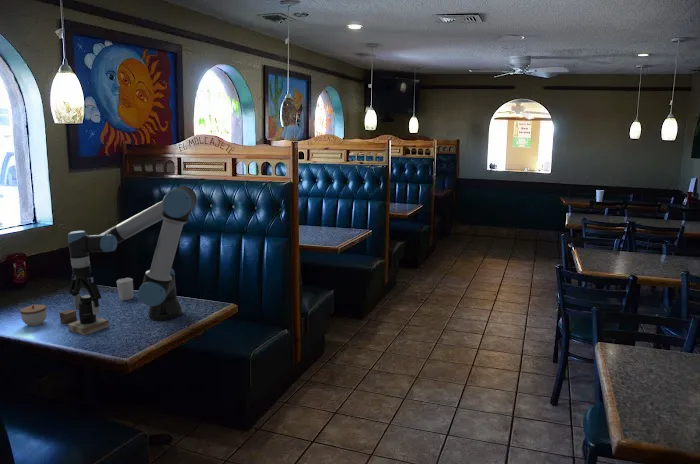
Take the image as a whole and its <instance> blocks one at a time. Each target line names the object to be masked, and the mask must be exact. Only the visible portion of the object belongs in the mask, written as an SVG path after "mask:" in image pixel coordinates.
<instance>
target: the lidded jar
mask: <svg viewBox="0 0 700 464" xmlns="http://www.w3.org/2000/svg"><path fill="white" fill-rule="evenodd" d="M47 311H48V310H47V305H45V304H31V305H28V306H25V307H23V308H21V309H20V310H19V313H20V316H21V317H20V318H21V319H22V322H23V323H24V324H25V325H27V326H28V327H37V326H41V325H43V324H44V323H45V320H46V319H47V315H48V312H47Z"/></svg>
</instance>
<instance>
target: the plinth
mask: <svg viewBox="0 0 700 464" xmlns="http://www.w3.org/2000/svg"><path fill="white" fill-rule="evenodd" d="M67 327H68V328H67V329H68V331H69V332H72V333H75V334H79V335H82V336H86V335H90V334H91V333H95V332H97V331H98V332H99V331H100V330H103V329H106V328H108V327H110V325H109V320H108V319H105V318H100V317H97V316H96V321H95V322H93V323H90V324H82V323H80V319H79V320H77V321H75V322H72V323H69V324H67Z"/></svg>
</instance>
